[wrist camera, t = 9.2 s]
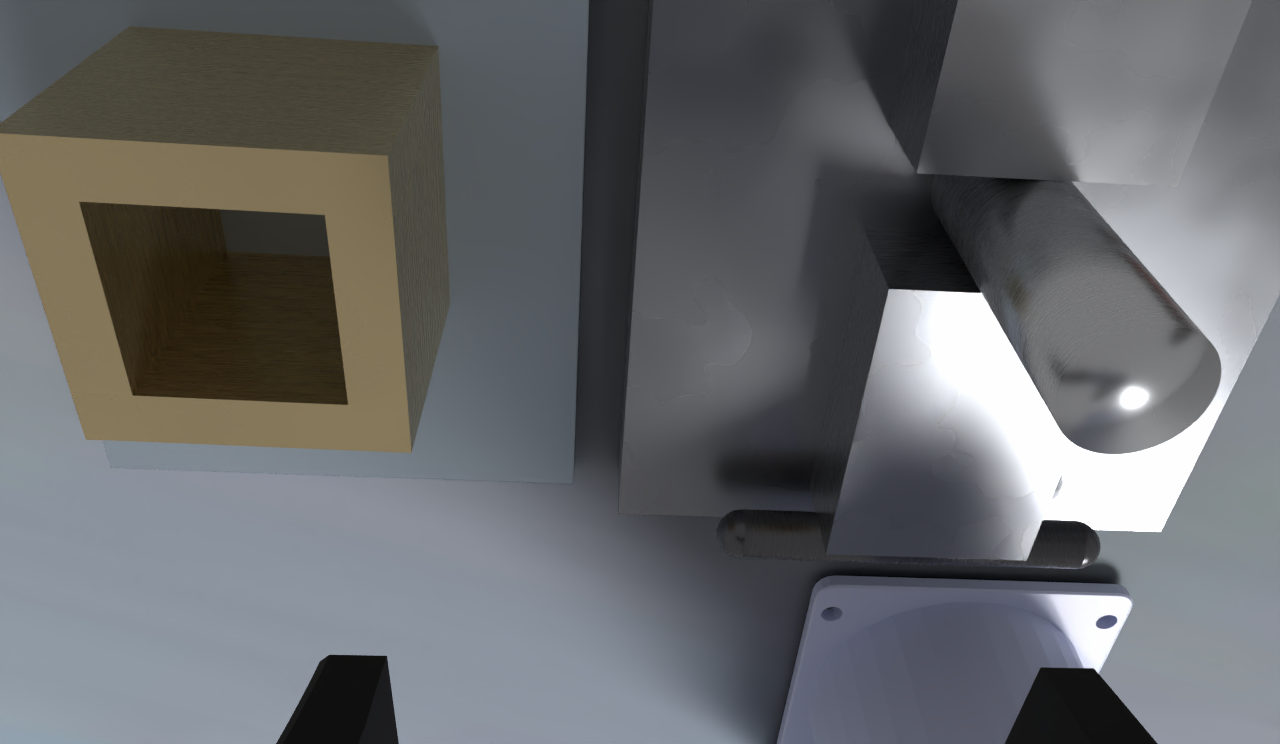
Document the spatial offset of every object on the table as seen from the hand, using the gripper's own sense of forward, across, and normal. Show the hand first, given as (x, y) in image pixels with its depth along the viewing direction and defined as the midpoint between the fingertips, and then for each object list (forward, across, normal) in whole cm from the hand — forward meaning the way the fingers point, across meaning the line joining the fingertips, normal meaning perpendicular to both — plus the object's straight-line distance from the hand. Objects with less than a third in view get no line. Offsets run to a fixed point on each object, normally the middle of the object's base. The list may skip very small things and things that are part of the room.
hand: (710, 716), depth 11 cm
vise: (+10, -5, -2) cm, 12 cm away
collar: (+10, +7, -2) cm, 12 cm away
